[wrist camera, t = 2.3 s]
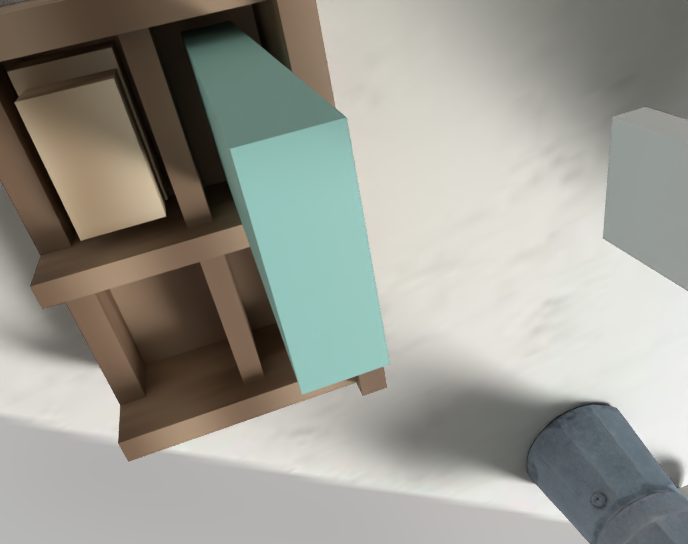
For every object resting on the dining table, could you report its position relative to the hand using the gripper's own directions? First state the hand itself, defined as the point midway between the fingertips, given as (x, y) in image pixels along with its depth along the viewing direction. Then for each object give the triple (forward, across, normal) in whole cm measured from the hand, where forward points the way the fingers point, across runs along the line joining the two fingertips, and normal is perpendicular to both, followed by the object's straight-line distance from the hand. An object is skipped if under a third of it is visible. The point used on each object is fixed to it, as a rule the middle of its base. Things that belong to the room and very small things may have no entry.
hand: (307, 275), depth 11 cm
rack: (+18, +2, +4) cm, 18 cm away
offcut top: (+14, +5, 0) cm, 15 cm away
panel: (+16, 0, 0) cm, 16 cm away
